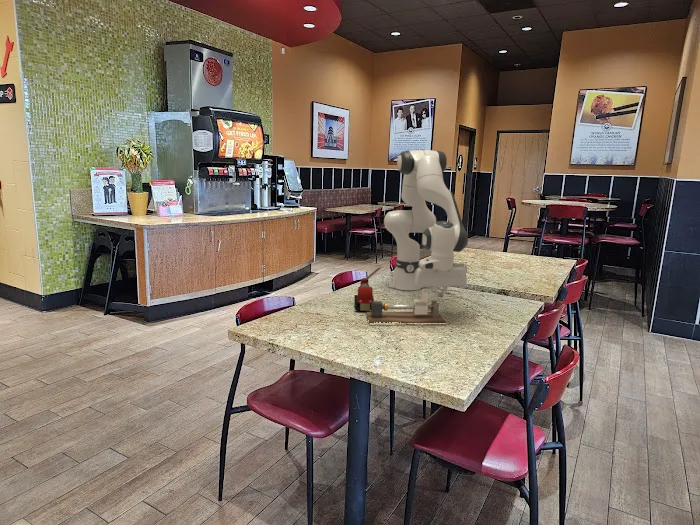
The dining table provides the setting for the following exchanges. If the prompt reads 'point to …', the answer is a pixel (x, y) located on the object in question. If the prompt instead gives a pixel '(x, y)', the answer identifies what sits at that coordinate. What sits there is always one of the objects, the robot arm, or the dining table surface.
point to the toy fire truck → (364, 294)
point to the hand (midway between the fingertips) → (439, 296)
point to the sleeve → (421, 304)
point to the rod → (378, 306)
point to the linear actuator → (410, 316)
